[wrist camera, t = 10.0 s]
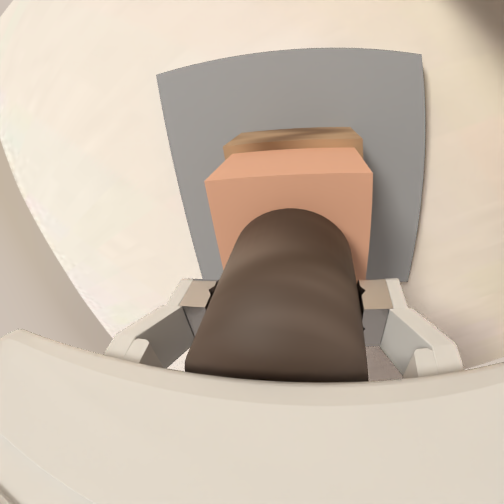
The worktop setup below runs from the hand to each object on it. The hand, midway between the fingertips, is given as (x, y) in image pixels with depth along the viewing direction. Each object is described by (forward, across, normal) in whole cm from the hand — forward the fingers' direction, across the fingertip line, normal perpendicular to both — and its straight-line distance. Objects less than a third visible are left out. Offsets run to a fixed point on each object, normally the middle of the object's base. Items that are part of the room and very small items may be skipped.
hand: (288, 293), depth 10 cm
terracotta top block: (+8, 0, 0) cm, 8 cm away
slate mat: (+15, 0, 0) cm, 15 cm away
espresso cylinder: (+2, 0, 0) cm, 2 cm away
